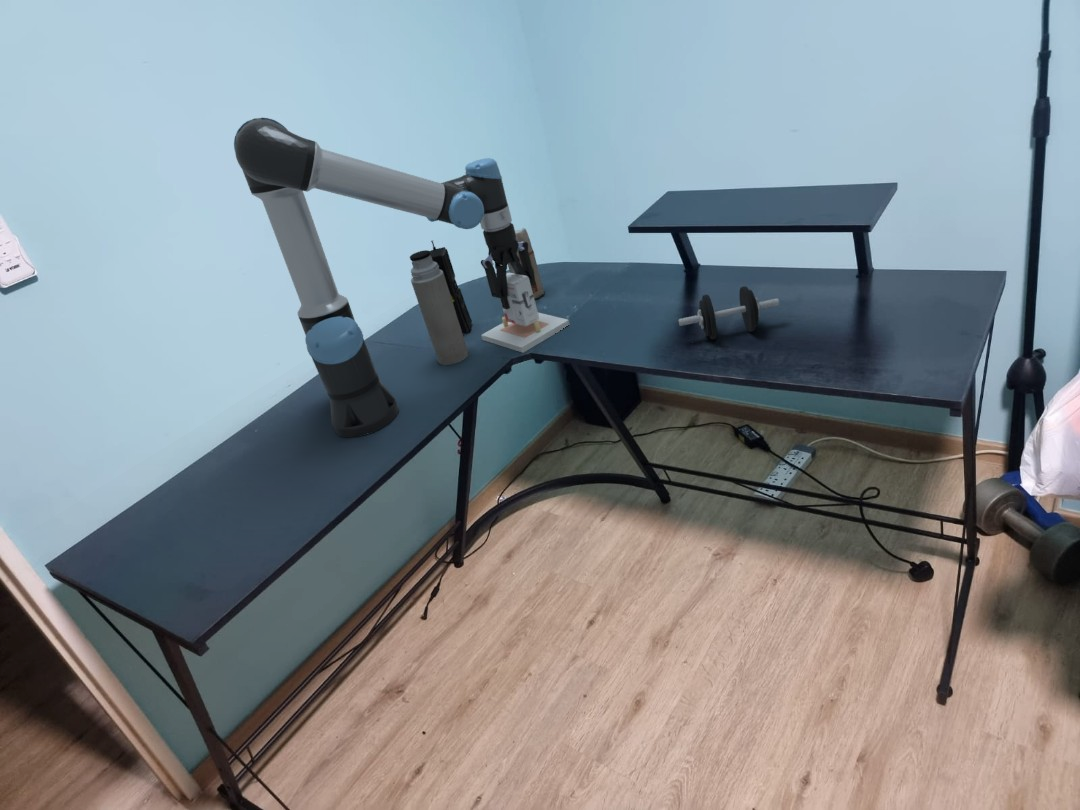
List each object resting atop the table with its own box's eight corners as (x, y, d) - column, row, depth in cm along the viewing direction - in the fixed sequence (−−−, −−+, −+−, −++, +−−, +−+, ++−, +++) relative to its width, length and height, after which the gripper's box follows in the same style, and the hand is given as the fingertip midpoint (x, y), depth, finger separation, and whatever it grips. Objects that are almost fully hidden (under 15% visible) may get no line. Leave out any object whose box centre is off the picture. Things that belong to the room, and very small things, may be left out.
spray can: (512, 303, 203) (494, 237, 193) (521, 292, 209) (504, 226, 200) (540, 301, 200) (523, 232, 190) (548, 289, 206) (532, 222, 197)
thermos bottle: (451, 348, 185) (418, 247, 172) (474, 351, 181) (442, 246, 167) (432, 363, 180) (396, 259, 166) (455, 366, 175) (420, 259, 162)
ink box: (504, 322, 183) (493, 279, 178) (518, 314, 186) (508, 271, 180) (526, 327, 177) (515, 283, 171) (540, 319, 180) (530, 275, 174)
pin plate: (523, 352, 173) (519, 338, 171) (482, 340, 186) (478, 326, 184) (569, 325, 181) (566, 310, 179) (528, 314, 193) (524, 301, 191)
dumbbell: (773, 314, 160) (770, 273, 156) (786, 332, 152) (783, 289, 147) (678, 334, 163) (672, 294, 158) (686, 353, 154) (680, 311, 149)
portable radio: (470, 334, 191) (443, 246, 178) (448, 339, 191) (420, 251, 179) (473, 322, 197) (447, 236, 185) (452, 327, 198) (425, 241, 186)
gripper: (477, 241, 162) (503, 332, 174) (535, 214, 171) (556, 302, 182) (459, 238, 168) (485, 326, 179) (516, 212, 176) (537, 297, 188)
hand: (520, 314), depth 181 cm, fingers closed on ink box, 5 cm apart
